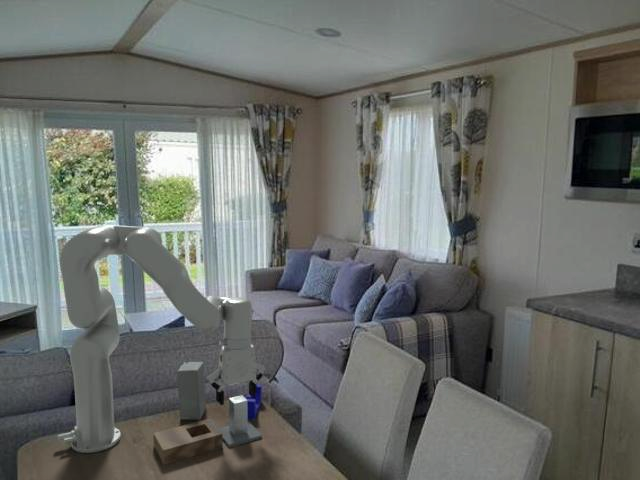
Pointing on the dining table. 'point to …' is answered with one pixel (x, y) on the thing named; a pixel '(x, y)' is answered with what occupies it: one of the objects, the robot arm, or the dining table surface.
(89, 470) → the dining table surface
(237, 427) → the steel bar
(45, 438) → the dining table surface
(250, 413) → the cable clip
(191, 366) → the skincare box
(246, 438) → the rubber mat
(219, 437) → the wooden block with hole
